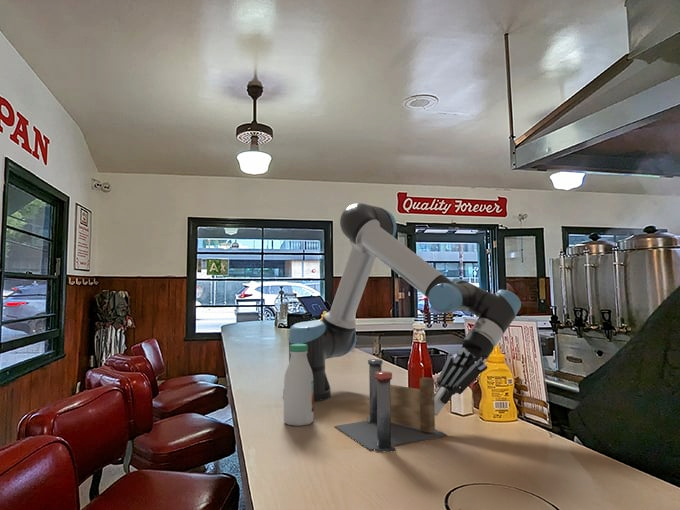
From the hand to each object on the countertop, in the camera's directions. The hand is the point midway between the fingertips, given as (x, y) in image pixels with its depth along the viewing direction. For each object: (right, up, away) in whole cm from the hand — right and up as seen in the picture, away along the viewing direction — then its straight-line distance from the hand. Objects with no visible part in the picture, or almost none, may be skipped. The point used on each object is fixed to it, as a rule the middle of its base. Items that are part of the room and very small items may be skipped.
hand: (431, 411), depth 111 cm
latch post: (-13, -4, -12) cm, 18 cm away
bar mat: (-11, -4, -1) cm, 12 cm away
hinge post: (-13, -5, +7) cm, 16 cm away
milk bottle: (-33, -5, +7) cm, 34 cm away
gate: (-6, -4, +1) cm, 7 cm away
